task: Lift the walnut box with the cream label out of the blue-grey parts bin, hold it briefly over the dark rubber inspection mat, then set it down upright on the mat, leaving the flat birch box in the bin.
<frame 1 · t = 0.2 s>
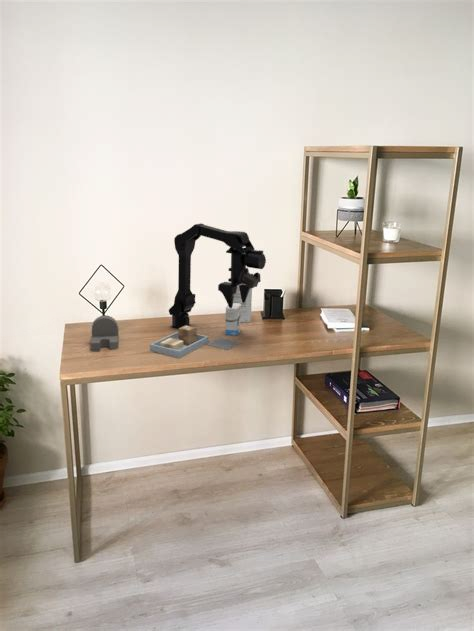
hand: (237, 305, 216), 14 cm above the table, fingers open, 9 cm apart
ink box: (233, 333, 229), on the table
birch box: (172, 350, 207), resting on parts bin
inspection mat: (223, 344, 215), on the table
bracket: (105, 344, 215), on the table
supplement box: (239, 319, 247), on the table
walnut box: (187, 342, 215), resting on parts bin
parts bin: (180, 347, 211), on the table
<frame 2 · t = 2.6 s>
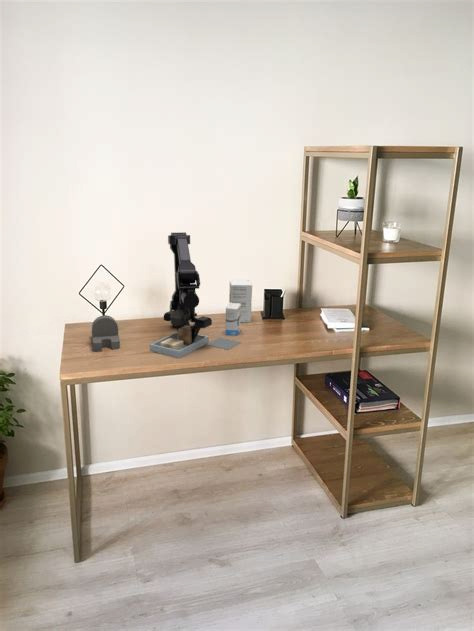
hand: (187, 340, 215), 2 cm above the table, fingers closed on walnut box, 5 cm apart
walnut box: (187, 342, 215), resting on parts bin, touching gripper
everything else where it was.
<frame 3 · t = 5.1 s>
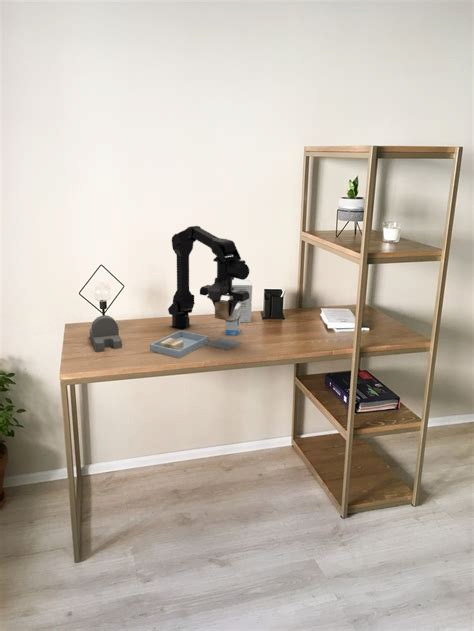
hand: (224, 315, 212), 12 cm above the table, fingers closed on walnut box, 5 cm apart
walnut box: (223, 317, 212), point 11 cm above the table, touching gripper
everything else where it was.
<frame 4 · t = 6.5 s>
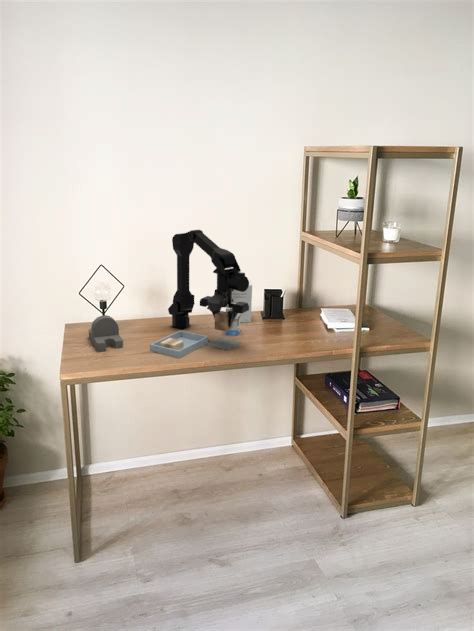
hand: (223, 326, 213), 8 cm above the table, fingers closed on walnut box, 5 cm apart
walnut box: (223, 328, 213), point 7 cm above the table, touching gripper
when the fingers open (3 cm above the table, at t = 7.7 s): walnut box drops 1 cm, resting on inspection mat.
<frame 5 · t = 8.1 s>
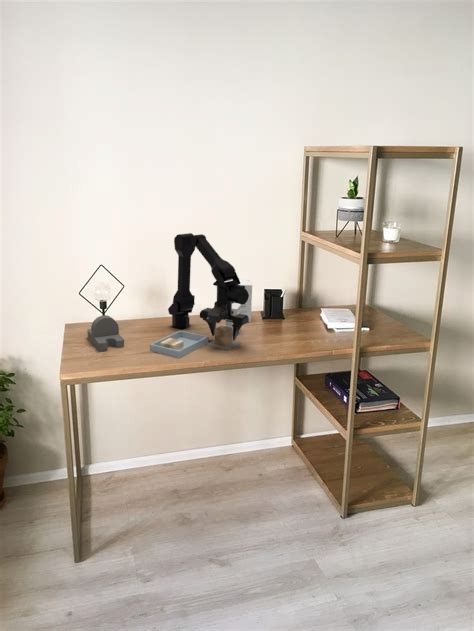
hand: (223, 337, 214), 3 cm above the table, fingers open, 9 cm apart
walnut box: (223, 343, 215), point 1 cm above the table, touching inspection mat
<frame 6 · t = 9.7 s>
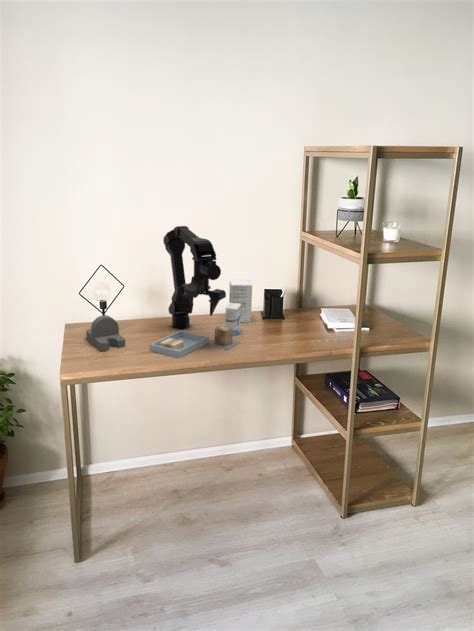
hand: (200, 313, 215), 12 cm above the table, fingers open, 9 cm apart
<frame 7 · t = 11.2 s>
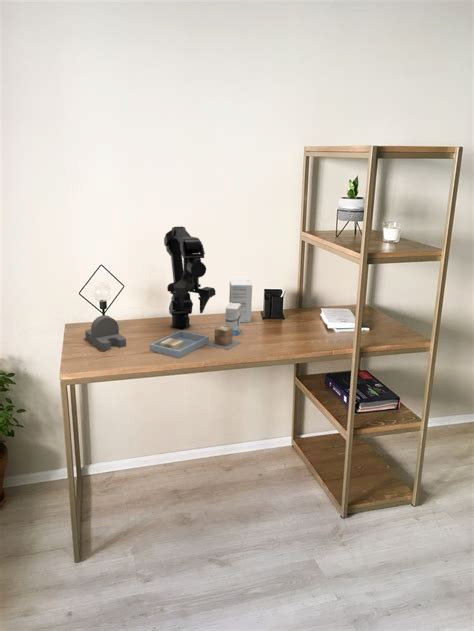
hand: (191, 311, 215), 12 cm above the table, fingers open, 9 cm apart
at the end: walnut box inside the target area (0.1 cm from its centre), point 0.6 cm above the table; walnut box tilted 0°; birch box moved 0.0 cm from its start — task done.
